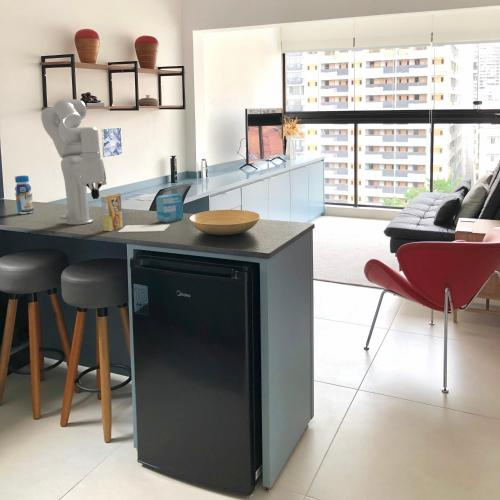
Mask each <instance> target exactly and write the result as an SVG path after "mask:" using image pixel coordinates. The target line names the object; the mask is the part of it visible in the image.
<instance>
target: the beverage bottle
mask: <svg viewBox="0 0 500 500" xmlns="http://www.w3.org/2000/svg"><path fill="white" fill-rule="evenodd" d="M14 181H15V183H16V184H15V187H14V190H15V193H14V195H15V202H16V208H17V209H16V210H17V213H18V212H30V211H34V212H35V209H34V201H33V192H32V186H31V185H30V184H29V182H30V179H29V175H17V176H16V175H15V177H14Z"/></svg>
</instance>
